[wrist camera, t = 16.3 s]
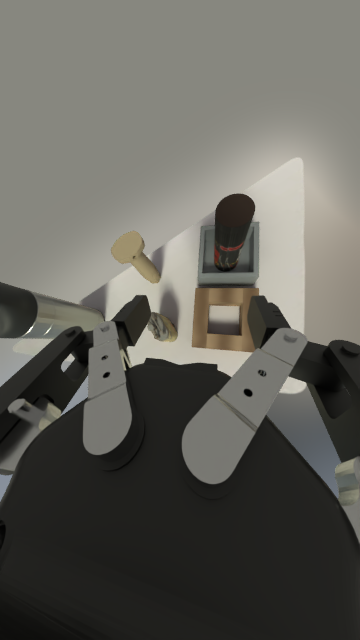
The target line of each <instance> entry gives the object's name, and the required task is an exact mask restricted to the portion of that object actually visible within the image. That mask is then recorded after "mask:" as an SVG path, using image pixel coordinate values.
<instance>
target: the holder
mask: <svg viewBox="0 0 360 640" xmlns="http://www.w3.org/2000/svg"><path fill="white" fill-rule="evenodd" d="M252 296H259V288H196V289H195V305H194V320H193V335H192V347H197V348H209V349H220V350H232V351H243V352H254V351H255V347H254V344H253V340H252V336H251V333H250V329H249V326H248V322H247V314H248V309H249V305H250V300H251V297H252ZM209 305H216V306H240V314H239V336H236V335H221V334H208V315H209Z"/></svg>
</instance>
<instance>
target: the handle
mask: <svg viewBox="0 0 360 640" xmlns="http://www.w3.org/2000/svg"><path fill="white" fill-rule="evenodd" d="M144 246H145V245H144V241H143V239H142V237H141V236H140V234H139V233H138V232H136V231H132V232H128V233H126V234H124V235H123V236H121V237H120V238H119V239H118V240H116V242H115V243H114V245H113V247H112V248H111V253H112V255H113V257H114V258H115V259H116V260H117V261H118V262H120V263H122V264H124V263H129V262H131V264H132V265H133V266H134V267H135V268H136V269H137V270H138V272H139V273H140V274H141V275H142V276H143V277H144V278H145V279H147V280H148V281H150V282H151V283H158V282H159V279H160V278H161V277H160V275H159V273H158V270H157V269H156V267H155V266H154V264H153V263H152V262H151V261H150V260H149V259H148V258H147V257H146V255H145V254H144V253H143V252H142V251H143V249H144Z"/></svg>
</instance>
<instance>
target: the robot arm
mask: <svg viewBox="0 0 360 640" xmlns="http://www.w3.org/2000/svg"><path fill="white" fill-rule="evenodd" d="M150 318H151V310H150V306H149V302H148V298H147V296H146V295H136V296H135V297H134V299H133V300H132V301H130V302H128V303H127V304H125V306H124V307H123V308H122V309H121V310H120V312H118V313H117V314H116V316H115V317H114V318H113V319H112V320H111V321H105V322H104V317H103V315H102V313H101V312H100V311H98V310H96V309H93V308H89V307H86V306H82V305H79V304H75V303H72V302H68V301H64V300H61V299H57V298H54V297H50V296H46V295H43V294H39V293H35V292H32V291H28V290H25V289H21V288H17V287H14V286H11V285H8V284H4V283H1V282H0V338H25V339H54V340H53V341H51V342H50V343H49V344H48V345H47V346H46V347H45V348H44V349H42V350H41V351H40V352H39V353H38V354H37V355H36V356H35V357H34V358H32V359H31V360H30V361H29V362H28V363H27V364H26V365H25V366H23V367H22V368H21V369H20V370H19V371H18V372H17V373H16V374H14V375H13V376H12V377H11V378H10V379H9V380H8V381H7V382H5V383H4V384H3V385H2V386H1V387H0V474H1V475H11V474H13V476H12V478H11V480H10V483H9V485H8V487H7V489H6V492H5V494H4V496H3V498H2V500H1V502H0V640H360V346H359V345H357V344H355V343H352V342H348V341H344V340H334V341H331V342H330V343H329V345H328V346H324V345H320V344H316V343H312V342H309V341H307V338H306V336H305V335H303V334H302V333H301V332H299V331H297V330H294V329H291V327H290V326H289V324H288V322H287V321H286V319H285V318H284V316H283V314H282V313H281V311H280V309H279V308H278V307H277V306H276V305H275V304H273V303H268V302H267V300H266V298H265V296H252V297H251V300H250V305H249V309H248V314H247V322H248V326H249V329H250V333H251V336H252V340H253V344H254V347H255V351H254V352H253V353H252V355H251V356H250V357H249V358H248V359H247V360H246V362H245V363H244V364H243V365H242V366H241V367H240V368H239V370H238V371H237V372H236V373H235V374H234V375H233V377H230V376H229V375H227V374H225V373H223V372H221V371H218V370H217V364H207V363H192V364H184V365H177V364H174V363H172V362H169V361H166V360H163V359H153V358H146V360H145V362H144V363H143V364H139V365H136V366H133V367H132V365H131V361H130V357H129V354H128V351H127V347H128V346H135V344H136V343H137V341H138V339H139V337H140V335H141V334H142V332H143V330H144V328H145V327H146V325H147V323H148V321H149V320H150ZM70 353H71V354H72V355H73V356H74V358H75V360H74V361H73V362H72V363H71V365H70V366H69V367H68V368H67V370H66V371H65V372H63V371H62V370H61V364H62V362H63V361H64V360H65V359H66V358H67V357H68V356H69V354H70ZM88 374H89V375H88ZM87 376H88V397H87V398H86V399H85V400H84V401H82V402H80V403H79V404H77V405H76V406H75V407H73V408H72V409H71V410H69V411H68V412H66V413H65V414H63V415H62V416H61V414H62V412H63V411H64V409H65V408H66V406H67V405H68V403H69V402H70V400H71V399H72V398H73V396H74V395H75V393H76V392H77V390H78V389H79V387H80V386H81V384H82V383H83V381H84V380H85V379H86V377H87ZM288 376H289V377H292V378H295V379H298V380H301V381H304V382H306V383H307V386H308V388H309V390H310V392H311V395H312V397H313V399H314V402H315V404H316V406H317V408H318V410H319V413H320V415H321V417H322V420H323V422H324V424H325V426H326V429H327V431H328V433H329V435H330V438H331V440H332V442H333V444H334V447H335V449H336V451H337V454H338V456H339V458H340V460H341V463H340V464H339V465H338V466H337V467H336V470H335V478H336V482H337V485H338V490H339V498H338V499H337V498H336V496H335V495H334V493H333V492H332V491H331V489H330V488H329V487H328V485H327V484H326V483H325V482H324V481H323V480H322V478H321V477H320V476H319V475H318V474H317V473H316V472H315V470H314V469H313V468H312V467H311V466H310V465H309V463H308V462H307V461H306V460H305V459H304V458H303V457H302V456H301V454H300V453H299V452H298V451H297V450H296V449H295V447H294V446H293V445H292V444H291V443H290V442H289V441H288V439H287V438H286V437H285V436H284V435H283V434H282V433H281V431H280V430H279V429H278V428H277V427H276V426H275V424H274V423H273V422H272V421H271V420H270V419H269V418H268V416H267V415H266V413H267V412H268V410H269V408H270V407H271V405H272V403H273V401H274V400H275V398H276V396H277V394H278V393H279V391H280V389H281V388H282V386H283V384H284V382H285V381H286V379H287V377H288ZM346 389H347V390H346ZM348 392H349V393H348Z"/></svg>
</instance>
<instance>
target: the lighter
mask: <svg viewBox="0 0 360 640" xmlns="http://www.w3.org/2000/svg"><path fill="white" fill-rule="evenodd" d="M147 324H148V326H147V327H148V329H149V331H152V333H153V335H154V338H155V339H157V340H159V341H162V342H166V341H169V342H173V341H175V340H176V338H177V332H176V330H175V328H174V324H172V323H171V322H170V320H169V319H168V318H167V317H164V316H162V315H160V314H159V313H155V312H151V318H150V320H149V321H148V323H147Z"/></svg>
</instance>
